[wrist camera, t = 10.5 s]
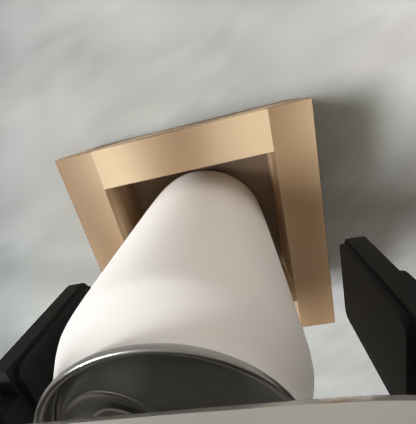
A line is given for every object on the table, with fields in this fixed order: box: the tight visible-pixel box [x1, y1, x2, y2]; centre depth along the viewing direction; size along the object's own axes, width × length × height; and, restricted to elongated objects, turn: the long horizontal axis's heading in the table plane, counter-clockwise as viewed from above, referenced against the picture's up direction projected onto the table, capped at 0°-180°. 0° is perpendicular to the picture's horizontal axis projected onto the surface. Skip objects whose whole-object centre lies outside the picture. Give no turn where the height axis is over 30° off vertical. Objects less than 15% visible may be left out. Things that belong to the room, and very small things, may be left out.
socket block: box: [55, 98, 335, 327], centre depth 16 cm, size 11×11×4 cm
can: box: [33, 171, 314, 423], centre depth 11 cm, size 6×6×12 cm
